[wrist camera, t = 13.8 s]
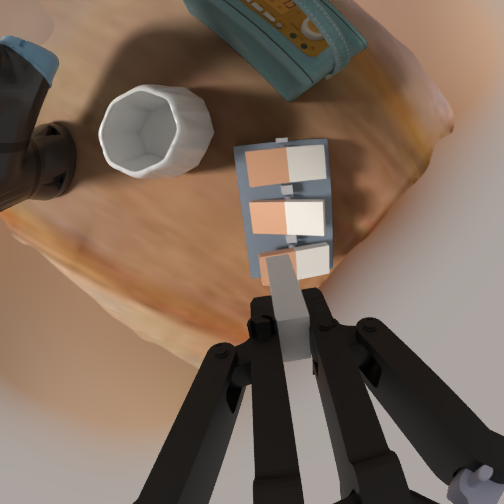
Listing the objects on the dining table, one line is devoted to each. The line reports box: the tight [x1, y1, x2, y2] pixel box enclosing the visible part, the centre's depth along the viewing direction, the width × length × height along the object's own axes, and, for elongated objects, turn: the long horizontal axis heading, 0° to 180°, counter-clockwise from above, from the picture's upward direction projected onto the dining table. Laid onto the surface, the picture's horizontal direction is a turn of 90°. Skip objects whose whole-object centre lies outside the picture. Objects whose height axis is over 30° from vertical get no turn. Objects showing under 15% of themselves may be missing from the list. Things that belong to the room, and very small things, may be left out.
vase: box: [98, 84, 215, 179], centre depth 32 cm, size 14×14×15 cm
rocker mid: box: [249, 195, 326, 236], centre depth 37 cm, size 10×5×2 cm, turn 97°
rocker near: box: [245, 144, 327, 187], centre depth 34 cm, size 10×5×2 cm, turn 97°
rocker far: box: [258, 242, 329, 286], centre depth 39 cm, size 10×5×2 cm, turn 97°
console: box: [233, 138, 333, 282], centre depth 41 cm, size 13×21×8 cm, turn 7°
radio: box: [183, 0, 368, 102], centre depth 24 cm, size 26×11×20 cm, turn 42°
